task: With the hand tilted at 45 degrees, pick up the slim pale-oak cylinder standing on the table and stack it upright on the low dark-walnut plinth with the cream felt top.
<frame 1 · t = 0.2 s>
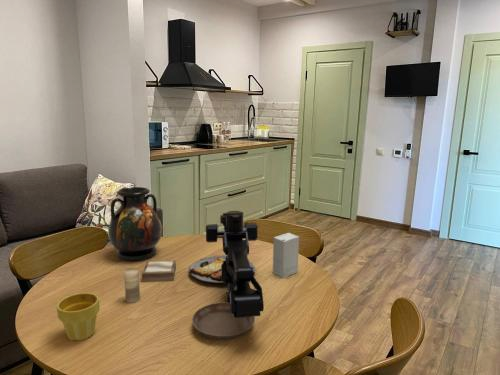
hand: (229, 226, 144), 17 cm above the table, tool horizontal, fingers open, 9 cm apart
plinth: (159, 274, 139), on the table
plant saucer: (223, 327, 106), on the table
amphora vase: (136, 254, 158), on the table
food plate: (221, 273, 142), on the table
oak cylinder: (132, 299, 120), on the table
skincare box: (285, 273, 141), on the table
plant pot: (81, 334, 102), on the table
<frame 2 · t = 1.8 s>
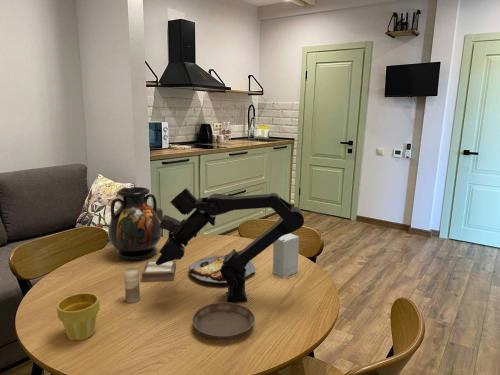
hand: (158, 258, 119), 14 cm above the table, tool tilted 45°, fingers open, 9 cm apart
nothing on the table moved.
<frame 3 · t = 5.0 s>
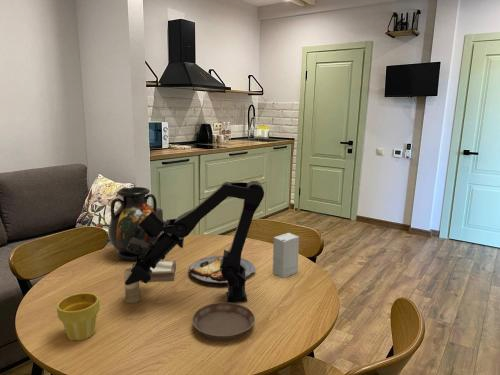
hand: (127, 280, 119), 7 cm above the table, tool tilted 45°, fingers closed on oak cylinder, 4 cm apart
oak cylinder: (132, 299, 120), on the table, touching gripper
everything else where it was.
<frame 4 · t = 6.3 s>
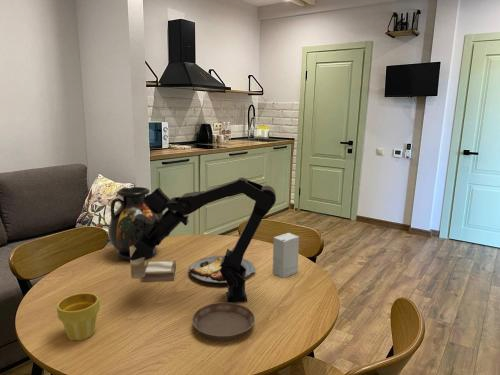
hand: (133, 256, 121), 13 cm above the table, tool tilted 45°, fingers closed on oak cylinder, 4 cm apart
oak cylinder: (138, 275, 122), point 7 cm above the table, touching gripper
everything else where it was.
when the fingers open (11 cm above the table, at t = 8.1 s): oak cylinder drops 1 cm, resting on plinth.
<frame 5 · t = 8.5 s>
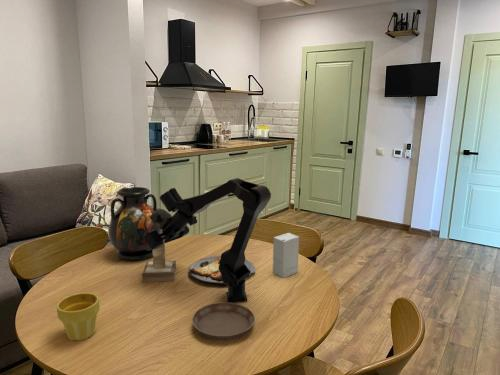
hand: (155, 245, 137), 11 cm above the table, tool tilted 45°, fingers open, 9 cm apart
oak cylinder: (159, 266, 138), point 3 cm above the table, touching plinth
everything else where it was.
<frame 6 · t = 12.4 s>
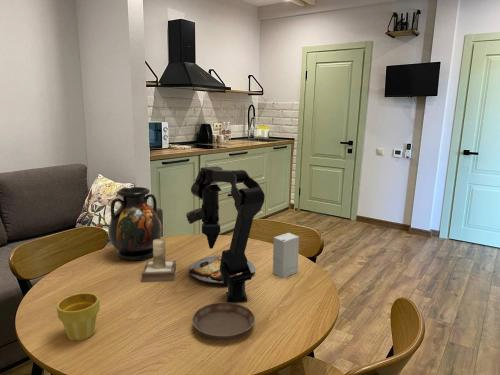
hand: (210, 243, 134), 13 cm above the table, tool pointing down, fingers open, 9 cm apart
nothing on the table moved.
at the end: oak cylinder 0.1 cm from the plinth (horizontally); oak cylinder tilted 1°; oak cylinder touching plinth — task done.
